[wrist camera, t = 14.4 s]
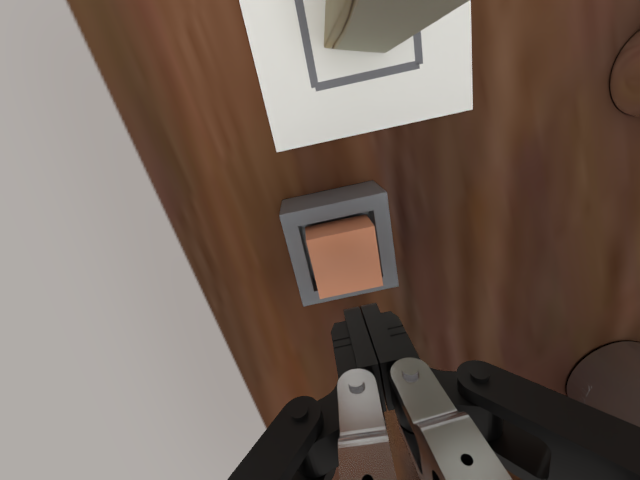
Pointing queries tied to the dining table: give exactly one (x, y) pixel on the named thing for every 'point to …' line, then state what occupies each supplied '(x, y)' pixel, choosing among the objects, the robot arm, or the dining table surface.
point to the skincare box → (380, 22)
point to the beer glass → (627, 78)
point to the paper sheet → (353, 74)
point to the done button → (344, 256)
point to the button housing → (333, 208)
